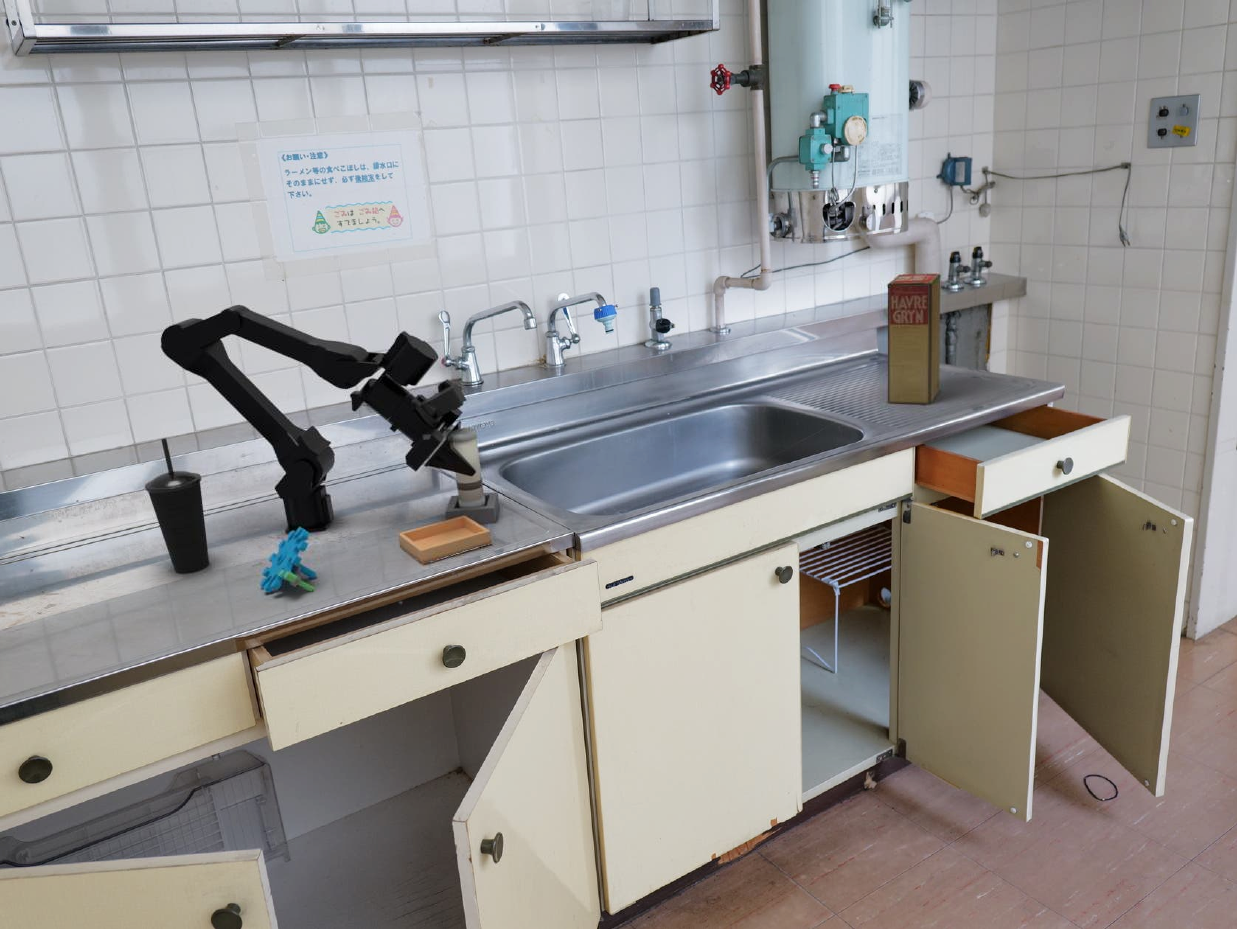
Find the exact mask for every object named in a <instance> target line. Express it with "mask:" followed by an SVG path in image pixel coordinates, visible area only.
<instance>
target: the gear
mask: <svg viewBox="0 0 1237 929" xmlns="http://www.w3.org/2000/svg"><path fill="white" fill-rule="evenodd" d="M309 537H310V531H306V530H304V529H303V528H301V527H299V528H298V529H297V531H296V532H295V531H294V530H293V531H291V532H290V533H288V536H287V539H282V540H281V541H280V542H279V543H278V546H277V547H278V551H277V553H276V552H273V553H272V554H271V555H270V557H269V558H268V562H270V563H272V564H271V566H270V567H268V566H265V568H264V569H263V571H262V574H261V575H262V576H263V577H264V578H262V579H261V581H260V587H261V588H263V590H264V591H265V592H268V593H271V592H272V591H273V589H274V590H278V589H280V587H281V586H282V582H283V580H284V581H288V582H289V585H290V586H293V587H296V586H297V585H298V586H300V587H302V588H303V589H305V590H307V591H308V592H310V593H311V592H312V591H313V590H314V589H315V587H314V586H313V585H310V584H308V583H307V582H305V581H304V580H302V574H303V575H304V576H306V577H308V578H310V579H312V580H314V579H315V578H316V576H317V572H315V571H314V570H312V569H310V568H308V567H307V566H305V565H303V564H301V562H302V559H303V558H302V557H301V556H299V554H300V551H301V552H303V553H304V552H305V551H306V550H307V548H308V546H309V543H308V542H306V541H308V539H309Z"/></svg>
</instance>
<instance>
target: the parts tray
mask: <svg viewBox="0 0 1237 929" xmlns="http://www.w3.org/2000/svg"><path fill="white" fill-rule="evenodd" d="M397 537H398V544H399V545H398V546H399V548H400V549H401V550H403V551H404V552H405V553H407V554H408V555H409V556H410V557H412V558H413V559H414V560H415V559H417V560H416V561H417V562H418V561H419V562H420V563H419V562H418V563H419V564H421V565H422V564H425V565H427V564H426V563H428V564H430V563H429V562H431V561H435V560H437V559H441V558H444V557H446V556H451V555H453V554H456V553H461V552H463V551H466V550H470V549H473V548H476V547H481V546H484V545H488V544H490V543H491V544H492V537H491V531H490V530H489V529H487V528H486V527H484V526H482V524H478V523H476V522H475V521H473V520H471V519H470V518H468V517H467V516H465V515H464V516H461V517H457V518H454V519H450V520H443V521H439V522H436V523H435V522H434V523H432V524H429V525H425V526H422V527H417V528H414V529H410V530H407V531H403V532H400V533H397ZM435 562H436V561H435ZM431 563H432V562H431Z"/></svg>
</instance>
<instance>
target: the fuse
mask: <svg viewBox="0 0 1237 929" xmlns="http://www.w3.org/2000/svg"><path fill="white" fill-rule="evenodd" d="M450 433H451V435H452V441H453V446H454V448H455V449H456V450H457V451H458V452H459V453H460V454H461V455H462V456H463V457H464V458H465V459H466V460H467V461H468V462H469V463H470V464H471V466H472V467H473V468H474V469H475V470H476V473H475V474H474V475H473V476H472V477H471V476H467V475H464V474H460V473H456V472H454V473H455V482H456V489H457V495H458V496H459V499H458V500H459V508H468V507H480V506H486V503H485V496H484V493H485V492H484V486H483V485H484V483H483V482H484V481H483V477H482V469H481V464H480V462H481V460H480V456H479V455H480V454H479V446H478V439H477V437H478V433H477V429H476V428H471V427H466V428H464V427H463V428H461V429H457V430H454V431H451V432H450ZM450 433H449V434H450Z"/></svg>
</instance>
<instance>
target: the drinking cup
mask: <svg viewBox="0 0 1237 929" xmlns="http://www.w3.org/2000/svg"><path fill="white" fill-rule="evenodd" d="M160 441H161V445H162V450H163V454H164V458H165V459H164V460H165V462H166V468H167V472H165V473H162V474H160V475H157V476H156V477H155V478H153V479H151V480H150V481H148V482H146V483H145V484H144V489H145V491H146V492H147V493H148V495H149V496H148V497H149V499H150V502H151V505H152V508H153V511H154V514H155V516H156V519H157V522H158V524H159V527H160V531H161V534H162V536H163V539H164V542H165V546H166V548H167V552H168V555H169V557H170V560H171V564H172V566H173V568H174V571H175V572H176V573H177V574H191V573H195V572H199V571H201V570H203V569H205V568H207V567H208V566H209V564H210V558H209V551H208V550H209V549H208V541H207V532H206V523H205V514H204V505H203V504H204V503H203V495H202V488H201V487H202V486H201V481H202V475H201V474H199V473H197V472H190V471H186V470H174V468H173V463H172V459H171V454H170V450H169V445H168V440H167V438H161V439H160Z"/></svg>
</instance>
